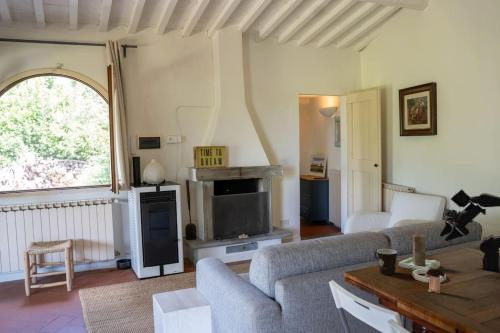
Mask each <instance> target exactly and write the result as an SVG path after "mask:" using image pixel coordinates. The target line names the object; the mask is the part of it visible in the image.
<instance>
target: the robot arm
mask: <svg viewBox="0 0 500 333" xmlns="http://www.w3.org/2000/svg"><path fill="white" fill-rule="evenodd" d="M450 200H451V201H452V202H453V203H454V204H455V205H456V206H457V207H459V208H464V209H463V210H462V211H461V210H460V211H457V210H456V209H449V208H447V207H445V208H444V211H443V213H442V214H443V215H444V216H445V218H444V227H443V228H442V230H441V231H440V233H439V236H440V237H441V238H442V237H444V236H446V237H445V238H444V241H446V242H449V241H452V240H456V239H458V238H462V237H467V236H468V235H469V234H470V230H469V229H468V228H467V226H468V225H469V224H470V223H471V224H472V223H474V221H473V220H475V218H476V217H478V216H479V215H480V214H482V215H484V216H486V214H487V212H486V211H487V208H495V207H496V208H497V207H498V208H499V207H500V196H498V195H494V194H490V193H487V192H483V193H481V194H479V195H475V196H473V195H472V196H470V195H469V194H467V192H465V190H464V189H460V190H458V191H457V192H456V193H455V194H454V195H453V196H451V198H450ZM479 249H480V251H481V252H482V253H483V258H482V261H481V262H482V268H481V269H482V270H483V271H489V272H494V273H499V272H500V235H498V236H497V235H496V236H494V234H492V233H491V234H490V235H488V236H484V237H483V239H481V241H480V243H479Z"/></svg>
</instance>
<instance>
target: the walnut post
mask: <svg viewBox="0 0 500 333" xmlns="http://www.w3.org/2000/svg"><path fill="white" fill-rule="evenodd" d="M412 257H413V264H414V265H416V266H426V265H425V259H426V236H425V235H424V234H412Z"/></svg>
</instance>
